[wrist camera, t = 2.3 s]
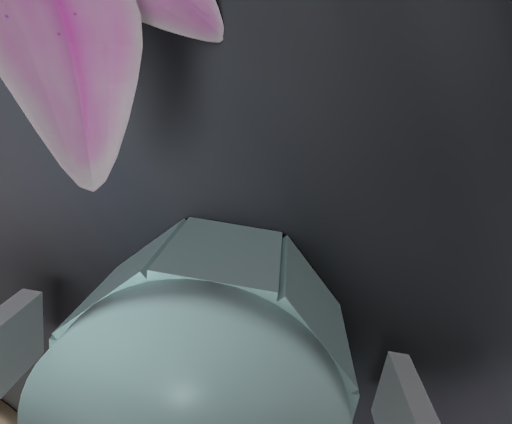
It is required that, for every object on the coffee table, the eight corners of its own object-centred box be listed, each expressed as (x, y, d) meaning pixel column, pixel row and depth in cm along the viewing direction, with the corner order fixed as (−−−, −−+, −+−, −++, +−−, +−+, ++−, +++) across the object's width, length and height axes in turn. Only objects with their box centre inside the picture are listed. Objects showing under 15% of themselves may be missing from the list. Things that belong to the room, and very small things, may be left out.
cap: (356, 244, 14) (398, 347, 9) (311, 432, 17) (319, 603, 12) (118, 204, 15) (8, 278, 9) (111, 395, 18) (24, 543, 12)
